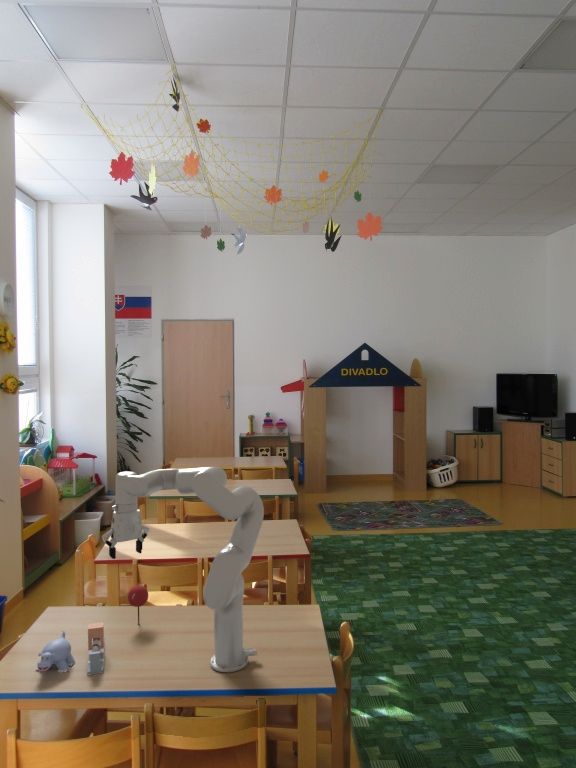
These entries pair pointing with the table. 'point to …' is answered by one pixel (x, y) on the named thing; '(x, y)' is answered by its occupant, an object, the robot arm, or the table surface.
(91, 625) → the collar
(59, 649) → the hippopotamus toy
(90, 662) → the rail
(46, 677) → the table surface
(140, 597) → the lollipop
